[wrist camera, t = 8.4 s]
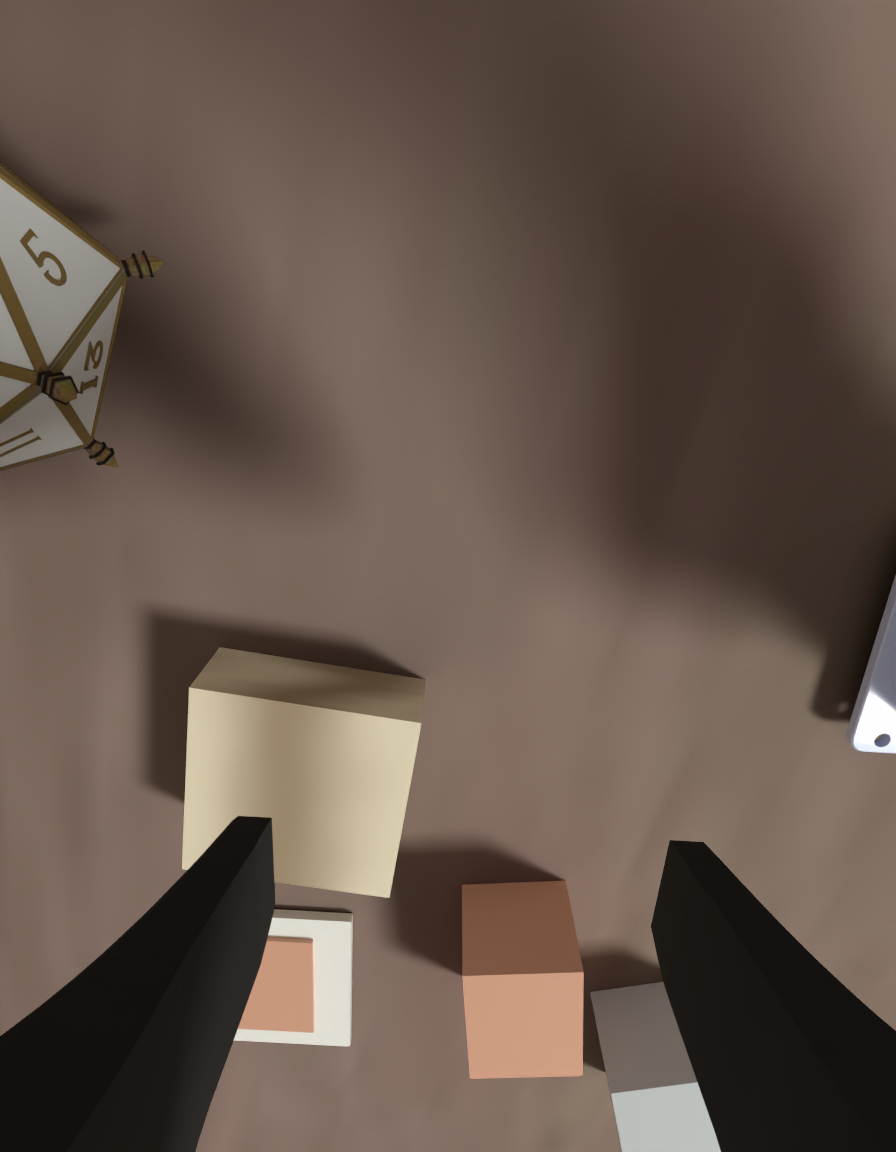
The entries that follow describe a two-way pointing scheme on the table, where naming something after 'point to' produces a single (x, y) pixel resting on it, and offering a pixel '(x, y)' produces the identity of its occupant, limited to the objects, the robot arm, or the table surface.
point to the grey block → (650, 1073)
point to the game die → (54, 327)
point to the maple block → (303, 764)
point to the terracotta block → (521, 981)
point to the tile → (303, 981)
